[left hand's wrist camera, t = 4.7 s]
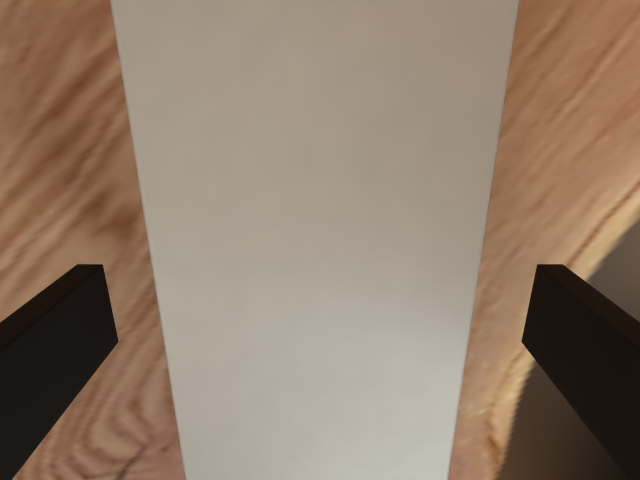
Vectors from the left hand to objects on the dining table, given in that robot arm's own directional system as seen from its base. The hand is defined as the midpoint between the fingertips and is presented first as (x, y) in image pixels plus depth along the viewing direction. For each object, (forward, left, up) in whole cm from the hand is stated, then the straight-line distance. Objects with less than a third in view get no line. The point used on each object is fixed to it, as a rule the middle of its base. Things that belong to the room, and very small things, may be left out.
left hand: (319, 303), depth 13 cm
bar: (-10, +17, -3) cm, 20 cm away
